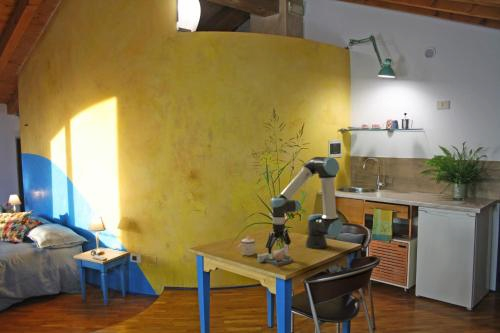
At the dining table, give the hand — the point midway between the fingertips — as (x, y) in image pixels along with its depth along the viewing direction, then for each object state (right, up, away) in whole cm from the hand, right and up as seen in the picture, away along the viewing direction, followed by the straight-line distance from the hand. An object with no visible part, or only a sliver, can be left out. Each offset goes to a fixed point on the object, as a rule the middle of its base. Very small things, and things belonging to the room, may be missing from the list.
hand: (278, 256), depth 256 cm
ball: (0, 0, 0) cm, 0 cm away
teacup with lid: (-20, -2, +17) cm, 27 cm away
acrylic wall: (-4, -3, +6) cm, 8 cm away
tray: (0, -3, 0) cm, 3 cm away
